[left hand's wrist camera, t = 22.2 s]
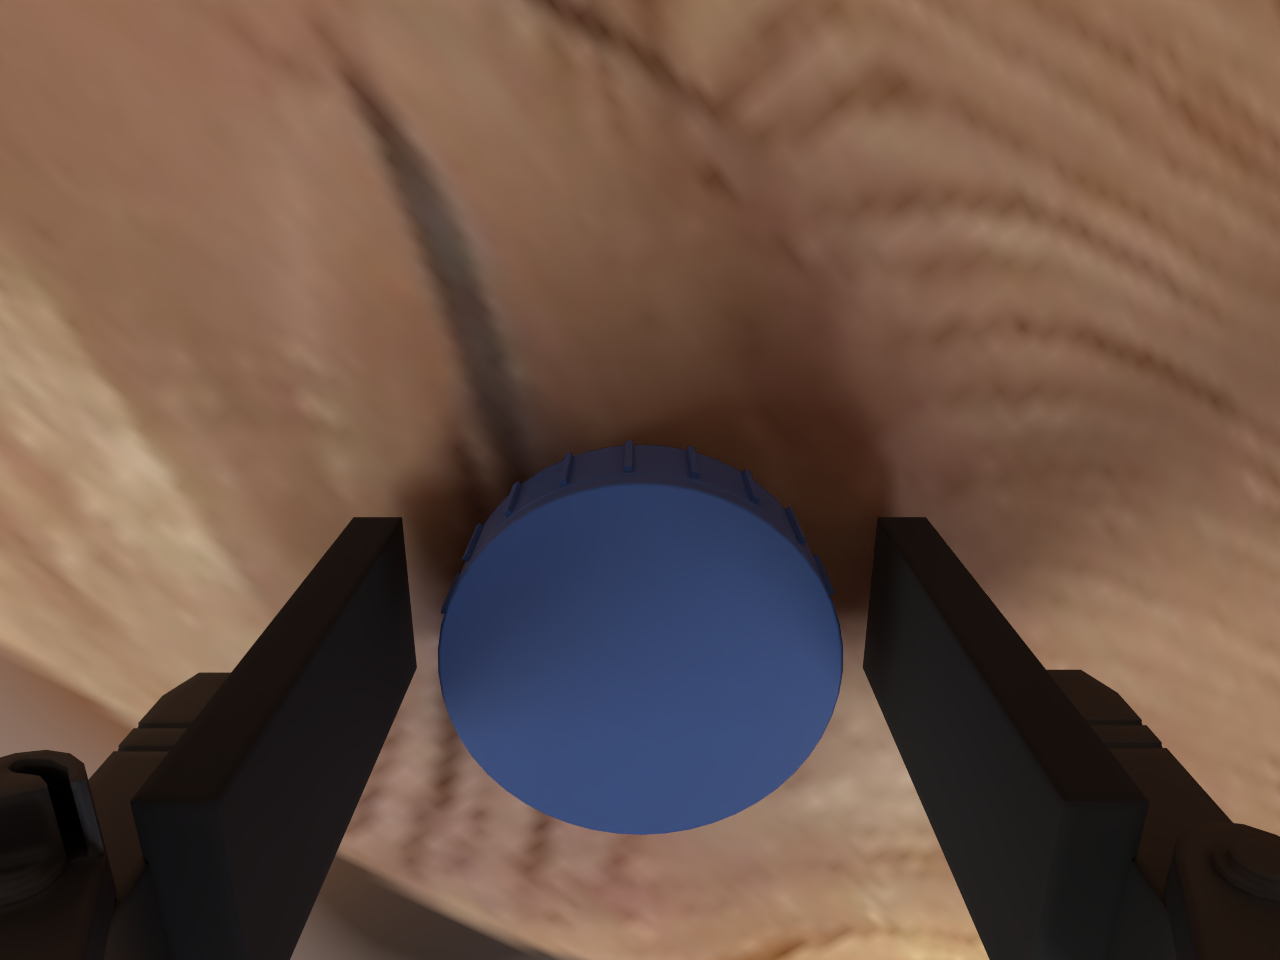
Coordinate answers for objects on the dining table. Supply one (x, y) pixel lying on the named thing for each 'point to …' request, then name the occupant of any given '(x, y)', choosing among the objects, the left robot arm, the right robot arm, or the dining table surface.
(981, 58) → the dining table surface
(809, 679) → the lid
